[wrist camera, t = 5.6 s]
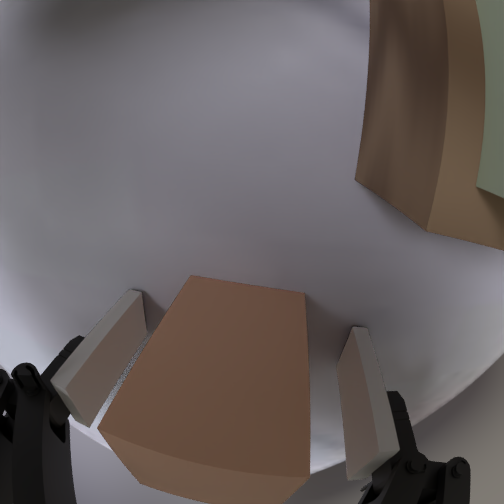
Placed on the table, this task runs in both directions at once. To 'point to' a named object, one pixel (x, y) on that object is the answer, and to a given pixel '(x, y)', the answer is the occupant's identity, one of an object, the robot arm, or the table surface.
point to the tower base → (429, 118)
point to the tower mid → (492, 97)
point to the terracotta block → (219, 397)
